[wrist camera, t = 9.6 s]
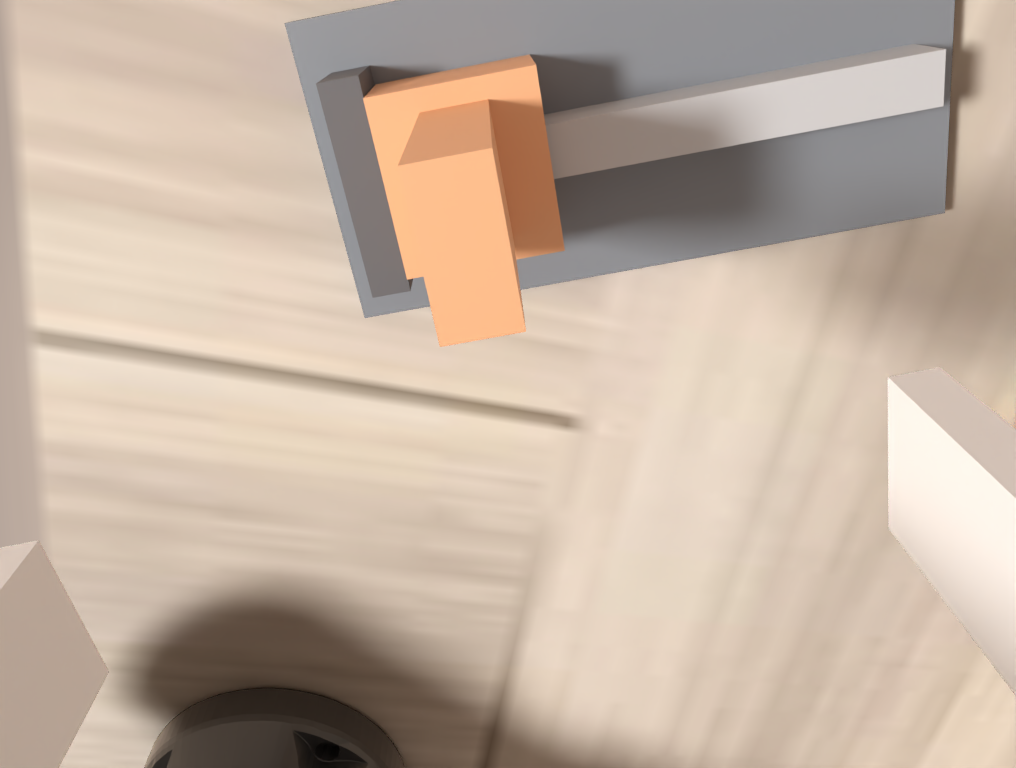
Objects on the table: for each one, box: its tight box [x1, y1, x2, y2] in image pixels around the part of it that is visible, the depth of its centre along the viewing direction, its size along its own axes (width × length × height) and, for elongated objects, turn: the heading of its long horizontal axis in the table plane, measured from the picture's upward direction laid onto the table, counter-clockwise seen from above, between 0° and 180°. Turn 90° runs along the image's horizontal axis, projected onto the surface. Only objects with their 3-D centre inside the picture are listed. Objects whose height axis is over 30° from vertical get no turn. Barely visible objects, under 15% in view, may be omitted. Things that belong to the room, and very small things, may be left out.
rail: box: [285, 0, 955, 318], centre depth 33 cm, size 25×12×4 cm, turn 100°
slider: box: [363, 54, 565, 347], centre depth 28 cm, size 6×7×13 cm
